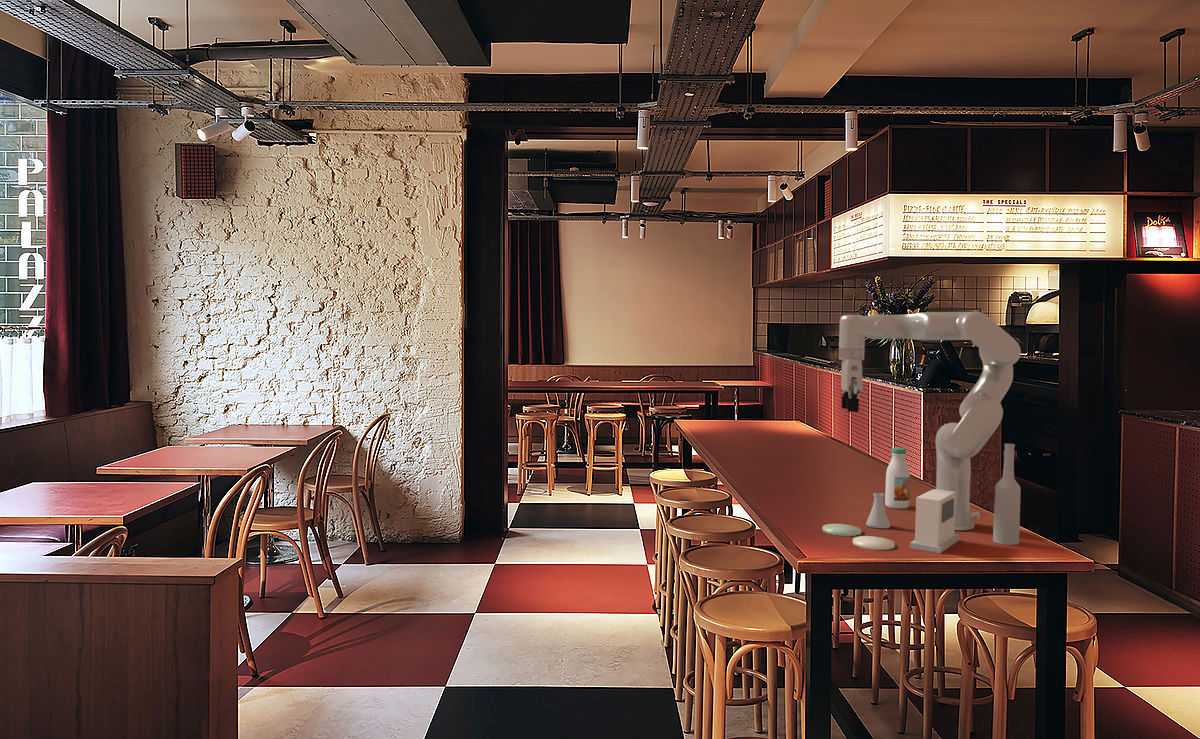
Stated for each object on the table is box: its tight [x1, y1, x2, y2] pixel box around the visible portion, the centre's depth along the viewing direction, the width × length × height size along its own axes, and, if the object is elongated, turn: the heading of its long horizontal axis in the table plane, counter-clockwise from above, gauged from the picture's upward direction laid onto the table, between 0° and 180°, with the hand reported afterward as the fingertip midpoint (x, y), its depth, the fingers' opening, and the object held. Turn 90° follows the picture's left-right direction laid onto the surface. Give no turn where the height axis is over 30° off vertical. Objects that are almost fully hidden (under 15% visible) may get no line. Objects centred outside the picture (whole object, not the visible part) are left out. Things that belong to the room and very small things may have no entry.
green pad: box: [821, 523, 862, 537], centre depth 237 cm, size 11×11×1 cm
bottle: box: [992, 443, 1022, 546], centre depth 226 cm, size 7×7×28 cm
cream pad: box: [852, 535, 895, 551], centre depth 223 cm, size 11×11×1 cm
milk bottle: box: [884, 447, 911, 510], centre depth 271 cm, size 8×8×20 cm
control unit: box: [909, 488, 960, 554], centre depth 224 cm, size 8×18×14 cm, turn 141°
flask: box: [865, 492, 891, 529], centre depth 244 cm, size 7×7×10 cm
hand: (849, 410), depth 248 cm, fingers open, 9 cm apart
